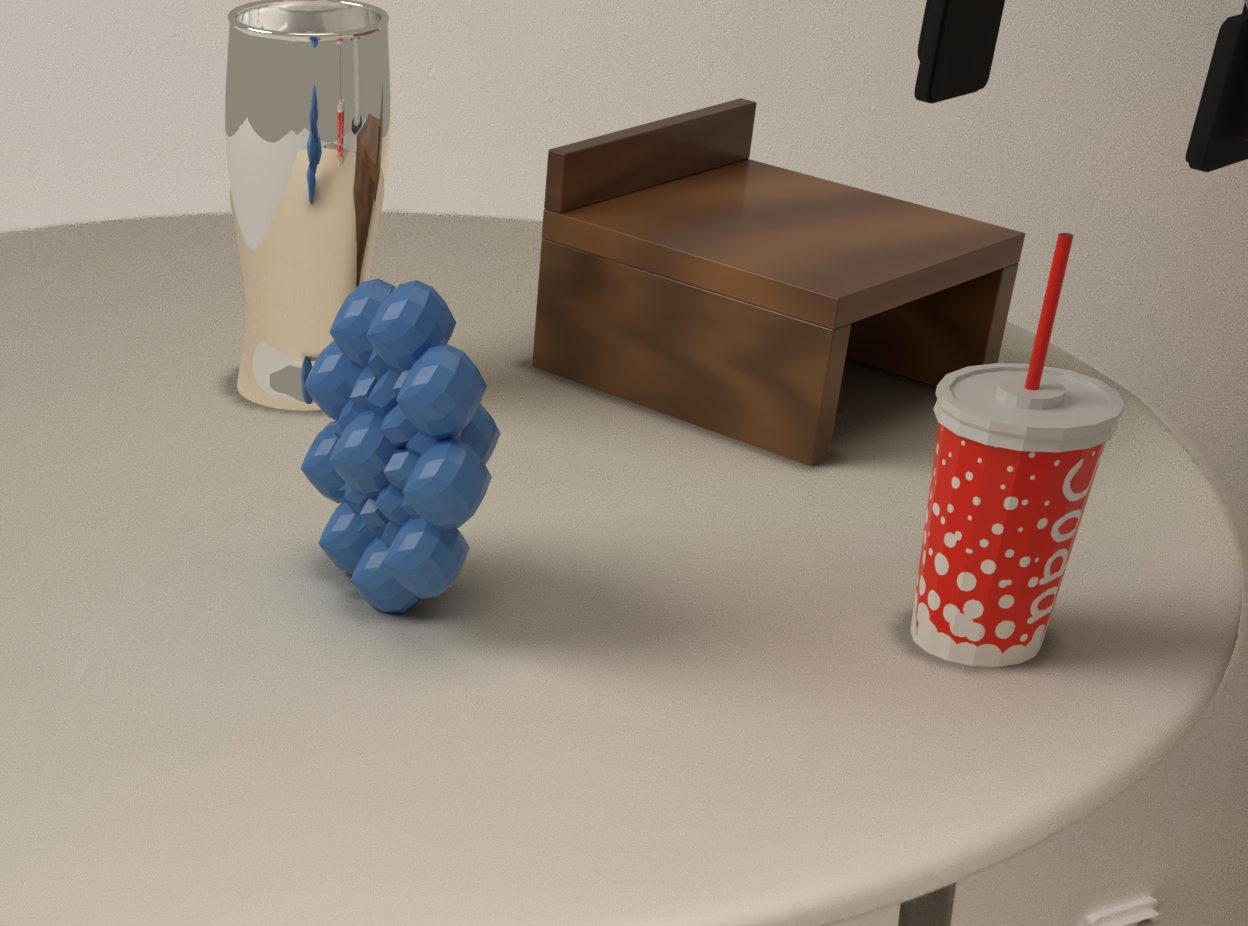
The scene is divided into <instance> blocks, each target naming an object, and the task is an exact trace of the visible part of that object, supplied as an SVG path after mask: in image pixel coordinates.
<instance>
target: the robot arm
mask: <svg viewBox="0 0 1248 926" xmlns="http://www.w3.org/2000/svg"><path fill="white" fill-rule="evenodd" d="M1005 3H1006V0H926V1H925V6H924V11H923V17H922V23H921V28H920V33H919V39H918V43H917V51H916V52H917V58H918V60H919V64H918V68H917V69H918V70H917V74H916V80H915V85H914V98H915V100H916V101H919V102H923V103H927V104H932V105H933V104H936V103H940V102H944V101H947V100H951V99H954V98H958V97H961V96H966V95H969V94H974V93H977V92H979V91H980V90H983V89H984V88H986V86H987V84H988V82H989V80H990V75H991V70H992V66H993V62H994V56H995V51H996V46H997V43H998V37H999V32H1000V28H1001V23H1002V18H1003V13H1004V9H1005ZM1217 32H1218V33H1217V36H1216V40H1215V44H1214V46H1213V47H1214V48H1213V52H1212V54H1211V59H1210V63H1209V66H1208V70H1207V73H1206V74H1207V75H1206V77H1205V81H1204V85H1203V87H1202V92H1201V96H1200V100H1199V105H1198V107H1197V111H1196V115H1195V117H1194V122H1193V126H1192V130H1191V133H1190V138H1189V141H1188V145H1187V148H1186V152H1185V156H1184V157H1185V158H1184V159H1185V162H1186V163H1188V167H1189V168H1190V169H1192V170H1196V171H1199V172H1204V173H1210V172H1213V171H1216V170H1219V169H1222V168H1226V167H1229V166H1231V165H1234V164H1237V163H1241V162H1244V161H1247V160H1248V0H1244V3H1243V7H1242V12H1241V13H1239V14H1235V15H1232V16H1228V17H1226V19H1225V20H1223V22H1222V23H1221V25H1220V28H1219V30H1218V31H1217Z"/></svg>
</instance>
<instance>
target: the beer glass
mask: <svg viewBox="0 0 1248 926" xmlns="http://www.w3.org/2000/svg"><path fill="white" fill-rule="evenodd" d="M389 22H390V15H389V14H388V12H387V11H385V10H384V9H383V8H381V7H379V6H377V5H373V4H372V3H371V4H370V3H366V2H362V1H357V0H255V1H251V2H247V3H243V4H240V5H238V6H236V7H234V8H233V9H231V10H229V12H228V14H227V39H226V40H227V41H226V55H225V56H226V57H225V73H224V90H223V141H224V165H225V172H226V180H227V181H226V182H227V188H228V197H229V203H230V208H231V215H232V220H233V227H234V233H235V239H236V244H237V250H238V255H239V261H240V262H239V263H240V269H241V274H242V282H243V289H244V304H245V305H244V306H245V307H244V308H245V316H244V319H245V320H244V321H245V322H244V323H245V324H244V335H243V343H242V349H241V355H240V361H239V367H238V374H237V382H236V389H237V391H238V392H239V394H240V395H241V396H242V397H244V398H245V399H246V400H248V401H250V402H253V403H254V404H257V405H261V406H265V407H269V408H273V409H279V410H286V411H287V410H288V411H302V412H303V411H306V412H308V411H310V412H311V411H322V410H321V408H320V407H319V406H318V405H317V404H316V403H315V402H314V400H313V399H312V398H311V396H310V395H309V393H308V391H307V390H306V388H305V387H304V385H305V383H306V380H307V378H308V375H309V373H310V371H311V369H312V367H313V365H314V364H315V362H316V360H317V358H318V356H319V355H320V353H321V352H322V351H323V350H324V349H325V348H326V347H327V346H328V345H329V344H330V343H331V342H332V341H333V340H334V339H333V337H332V336H331V334H330V329H331V327H332V324H333V322H334V319H335V317H336V315H337V313H338V312H339V310H340V308H341V306H342V304H343V302H344V301H345V299H346V298H347V297H348V295H349V294H350V293H351V292H353V291H354V290H355V289H356V288H357V287H358V286H359V285H360V284H361V283H362V282H365V281H369V280H370V273H371V268H372V262H373V257H374V251H375V246H376V242H377V236H378V230H379V225H380V220H381V215H382V210H383V205H384V204H383V203H384V198H385V192H386V184H387V178H388V170H389V163H390V150H391V149H390V148H391V134H392V133H391V132H392V126H391V125H392V87H391V83H392V82H391V60H390V57H391V56H390V39H389V37H390V36H389V34H390V33H389Z"/></svg>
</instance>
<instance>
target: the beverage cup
mask: <svg viewBox="0 0 1248 926" xmlns="http://www.w3.org/2000/svg"><path fill="white" fill-rule="evenodd" d="M1073 240H1074V234H1073V233H1069V232H1060V233H1058V235H1057V239H1056V243H1055V248H1054V253H1053V257H1052V261H1051V265H1050V270H1049V274H1048V279H1047V283H1046V288H1045V293H1044V297H1043V302H1042V306H1041V310H1040V315H1039V319H1038V324H1037V329H1036V333H1035V334H1036V335H1035V337H1034V342H1033V346H1032V350H1031V351H1032V352H1031V355H1030V360H1029V363H1014V362H1013V363H1011V362H998V363H994V364H985V365H977V366H968V367H965V368H962V369H960V370H957V371H954V372H951V373H949V374H946V375H945V376H944V378H943V379H942V380H941V381H940V383H939V384H938V385H937V386H936V389H935V396H936V402H935V404H934V406H933V408H932V410H933V412H934V415H935V418H936V420H937V422H938V426H937V434H936V440H935V448H934V454H933V462H932V470H931V476H930V484H929V491H928V499H927V505H926V513H925V522H924V526H923V527H924V529H923V535H922V543H921V549H920V555H919V556H920V558H919V565H918V572H917V579H916V585H915V586H916V587H915V594H914V600H913V607H912V615H911V623H910V628H909V629H910V630H909V631H910V633H911V638H912V640H913V642H914V643H915V644H916V645H918V646H919V647H920V648H921V649H922V650H923V651H925V652H926V653H928V654H930V655H933V656H935V657H937V658H940V659H942V660H944V661H946V662H952V663H955V664H961V665H965V666H970V667H989V668H1000V667H1007V666H1013V665H1021V664H1022V663H1025V662H1027V661H1029V660H1031V659H1033V658H1035V657H1036V656H1037V655H1038V653H1039V651H1040V650H1041V648H1042V646H1043V643H1044V639H1045V636H1046V633H1047V629H1048V627H1049V623H1050V621H1051V617H1052V614H1053V611H1054V608H1055V605H1056V601H1057V598H1058V595H1059V592H1060V589H1061V585H1062V583H1063V579H1064V575H1065V573H1066V569H1067V566H1068V563H1069V560H1070V557H1071V555H1072V554H1071V553H1072V551H1073V547H1074V544H1075V541H1076V538H1077V534H1078V531H1079V528H1080V525H1081V522H1082V519H1083V516H1084V512H1085V509H1086V506H1087V502H1088V500H1089V496H1090V493H1091V490H1092V486H1093V484H1094V481H1095V478H1096V475H1097V472H1098V468H1099V465H1100V462H1101V458H1102V456H1103V452H1104V449H1105V447H1106V443H1107V442H1109V441H1111V440H1112V438H1113V436H1114V435H1115V434H1116V432H1117V431H1118V428H1119V419H1120V418H1121V416H1122V415H1123V413H1124V410H1125V406H1126V404H1125V402H1124V400H1123V398H1122V396H1121V395H1120V393H1119V391H1118V390H1117V389H1115V388H1113V387H1112V386H1110V385H1108V384H1107V383H1105V382H1103V381H1101V380H1100V379H1099V378H1095V377H1092V376H1089V375H1086V374H1083V373H1079V372H1076V371H1073V370H1070V369H1067V368H1059V367H1054V366H1047V365H1045V363H1046V359H1047V356H1048V355H1047V354H1048V350H1049V346H1050V341H1051V338H1052V333H1053V329H1054V324H1055V319H1056V317H1057V316H1056V315H1057V312H1058V311H1057V310H1058V307H1059V301H1060V298H1061V293H1062V288H1063V284H1064V280H1065V275H1066V271H1067V267H1068V262H1069V259H1070V253H1071V249H1072V245H1073Z"/></svg>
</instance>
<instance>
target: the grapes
mask: <svg viewBox="0 0 1248 926" xmlns="http://www.w3.org/2000/svg"><path fill="white" fill-rule="evenodd" d="M456 325H457V321H456V318H455V317H454V315H453V313H452V310H451V309H450V308H449V306H448V304H447V302H446V301H445V299H444V298H443V297H442V296H441V295H440V293H439V292H438V291H437V290H436V289H435V287H433V286H431V285H429V284H427V283H424V282H422V281H420V280H418V279H415V280H411V281H406V282H402V283H399V284H398V285H397V286H395V285H394V284H391V283H389V282H387V281H385V280H383V279H380V278H379V277H378V278H374V279H369V280H368V281H365V282H362V283H361V284H360V285H359V286H358V287H357V288H356V289H355V290H354V291H353V292H351V293H350V294H349V295H348V297H347V298H346V299H345V301H344V302H343V304H342V306H341V308H340V310H339V312H338V313H337V315H336V317H335V319H334V322H333V324H332V327H331V329H330V334H331V336H332V337H333V339H334V340H333V341H332V342H331V343H330V344H329V345H328V346H327V347H326V348H325V349H324V350H323V351H322V352H321V353H320V355H319V356H318V358H317V360H316V362H315V364H314V365H313V367H312V369H311V371H310V373H309V375H308V378H307V380H306V383H305V385H304V387H305V388H306V390H307V391H308V393H309V395H310V396H311V398H312V399H313V400H314V402H315V403H316V404H317V405H318V406H319V407H320V408H321V410H320V411H322V412H323V414H325V415H326V417H328V418H330V419H332V421H330V422H329V423H328V424H327V425H326V426H324V427H323V429H322V430H320V431H319V432H318V433H317V434H316V436H315V438H314V439H313V441H312V443H311V445H310V446H309V448H308V450H307V452H306V454H305V456H304V458H303V460H302V464H301V466H300V470H301V471H302V473H303V475H304V476H305V478H306V479H307V480H308V481H309V483H310V484H311V485H312V486H313V487H314V488H315V489H316V491H318V493H320V494H321V495H322V497H324V498H326V499H328V500H330V501H331V502H334V503H336V504H338V505H337V507H336V508H335V509H334V511H333V512H332V514H331V516H330V518H329V519H328V521H327V522H326V525H324V526H325V527H324V528H323V530H322V533H321V535H320V538H319V540H318V545H319V547H320V548H321V549H322V551H323V552H324V554H325V555H326V556H327V557H328V558H329V559H330V560H331V562H333V564H334V565H335V566H336V567H337V568H338V569H339V570H340V571H342V572H344V573H345V574H348V575H350V576H351V579H350V583H351V585H352V586H353V588H355V590H356V591H357V593H358V594H359V595H360V596H361V597H362V598H363V599H364V600H365V601H366V603H367V604H369V606H370V607H372V608H374V609H376V610H378V611H381V612H383V613H384V614H385V613H386V614H387V613H388V614H389V613H390V614H392V613H393V614H394V613H395V614H397V613H398V614H403V613H405V612H406V611H407V610H409V609H410V608H411V607H412V606H413V605H415V604H416V603H417V602H418V600H419V598H420V599H421V600H422V599H430V598H437V597H440V596H441V595H442V594H443V593H445V591H447V590H448V589H449V588H450V587H452V586H453V585H454V583H455V581H456V579H457V577H458V576H459V574H460V572H461V571H462V570H463V567H464V565H465V562H466V560H467V557H468V554H469V551H470V549H471V547H470V546H469V545H470V544H469V543H468V542H467V540H466V538H465V537H464V535H463V533H461V531H460V530H459V529H460V527H462V526H463V525H464V524H465V523H466V522H468V521H469V520H470V519H471V518H473V517H474V515H475V514H476V512H477V510H478V508H479V507H480V505H481V504H482V502H483V500H484V498H485V496H486V495H487V492H488V489H489V486H490V484H491V482H492V478H493V476H492V475H491V473H490V471H489V469H488V467H487V466H486V465H487V463H488V462H489V461H490V458H491V457H492V455H493V453H494V452H495V449H496V447H497V444H498V442H499V438H500V436H501V431H500V429H499V427H498V425H497V424H496V422H495V419H494V418H493V416H492V415H491V413H490V412H489V411H488V410H487V409H486V408H485V406H484V405H483V404H482V401H483V398H484V395H485V393H486V389H487V388H488V385H487V383H486V381H485V379H484V377H483V375H482V374H481V372H480V370H479V368H478V366H477V364H475V363H474V361H473V360H472V359H471V358H470V356H468V354H467V353H466V352H465V351H464V350H462V349H459V348H457V347H455V346H452V345H450V344H449V342H450V340H451V338H452V335H453V333H454V330H455V327H456Z"/></svg>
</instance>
